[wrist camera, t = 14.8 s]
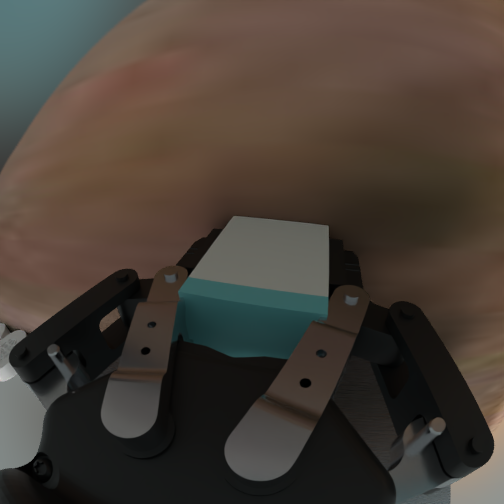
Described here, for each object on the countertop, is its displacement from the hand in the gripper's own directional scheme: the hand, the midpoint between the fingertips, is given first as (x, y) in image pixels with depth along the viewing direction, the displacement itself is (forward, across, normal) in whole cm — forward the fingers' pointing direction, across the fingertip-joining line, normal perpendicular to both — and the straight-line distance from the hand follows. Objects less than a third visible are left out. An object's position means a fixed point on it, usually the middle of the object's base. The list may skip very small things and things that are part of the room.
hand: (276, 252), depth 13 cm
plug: (+1, 0, +9) cm, 9 cm away
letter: (+2, +46, +22) cm, 51 cm away
